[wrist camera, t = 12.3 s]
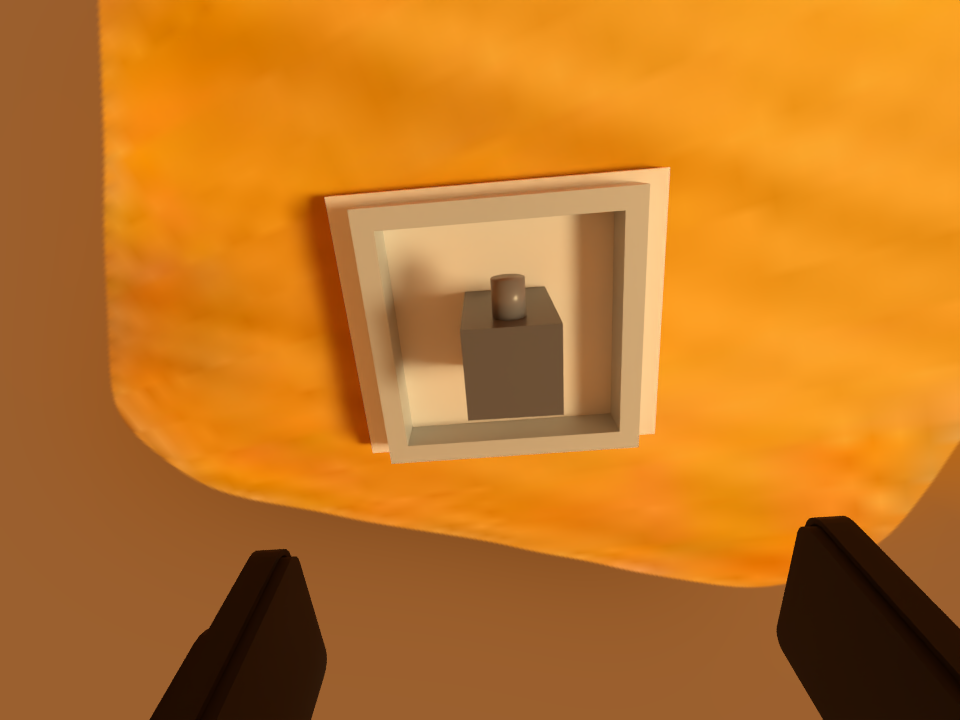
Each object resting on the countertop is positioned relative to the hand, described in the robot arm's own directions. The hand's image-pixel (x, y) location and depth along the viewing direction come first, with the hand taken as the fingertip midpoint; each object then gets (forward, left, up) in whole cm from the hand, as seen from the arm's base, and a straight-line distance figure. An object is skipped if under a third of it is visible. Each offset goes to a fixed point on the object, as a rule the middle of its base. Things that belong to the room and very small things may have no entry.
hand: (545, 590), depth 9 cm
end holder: (0, 0, -18) cm, 18 cm away
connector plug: (0, 0, -17) cm, 17 cm away
